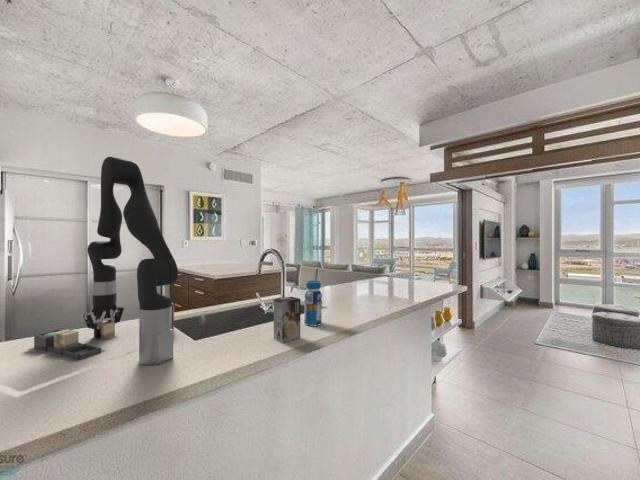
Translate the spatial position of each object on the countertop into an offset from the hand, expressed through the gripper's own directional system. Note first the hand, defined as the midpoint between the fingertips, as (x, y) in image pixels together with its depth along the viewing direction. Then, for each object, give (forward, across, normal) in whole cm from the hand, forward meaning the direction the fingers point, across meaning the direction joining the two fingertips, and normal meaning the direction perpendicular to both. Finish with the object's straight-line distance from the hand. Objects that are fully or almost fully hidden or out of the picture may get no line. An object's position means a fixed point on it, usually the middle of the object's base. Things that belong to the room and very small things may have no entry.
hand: (104, 336), depth 112 cm
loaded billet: (0, -14, -2) cm, 14 cm away
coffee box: (+1, +30, -64) cm, 71 cm away
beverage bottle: (+1, +52, -66) cm, 84 cm away
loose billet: (+1, 0, 0) cm, 1 cm away
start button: (-1, -14, +6) cm, 15 cm away
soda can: (+1, +15, -14) cm, 20 cm away
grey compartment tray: (+1, -14, -2) cm, 14 cm away
